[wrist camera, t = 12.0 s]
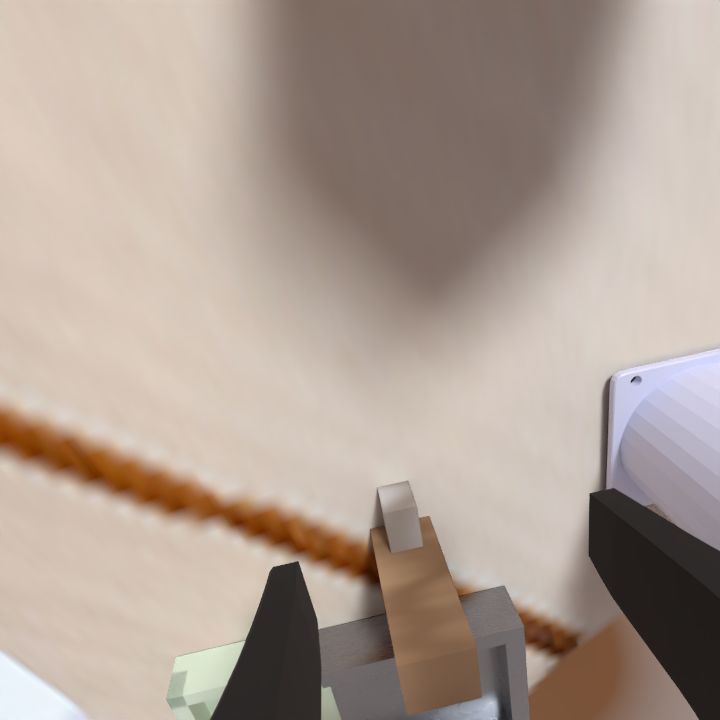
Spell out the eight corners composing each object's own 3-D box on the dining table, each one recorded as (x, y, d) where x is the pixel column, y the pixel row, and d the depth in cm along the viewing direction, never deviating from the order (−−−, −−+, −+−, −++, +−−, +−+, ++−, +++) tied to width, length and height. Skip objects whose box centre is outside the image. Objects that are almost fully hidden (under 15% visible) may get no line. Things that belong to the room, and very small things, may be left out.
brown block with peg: (423, 477, 23) (472, 602, 17) (440, 592, 26) (486, 733, 20) (361, 490, 23) (387, 622, 17) (386, 604, 26) (414, 750, 20)
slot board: (504, 585, 27) (524, 626, 25) (514, 705, 31) (531, 749, 29) (316, 630, 26) (318, 675, 24) (354, 745, 31) (359, 793, 29)
